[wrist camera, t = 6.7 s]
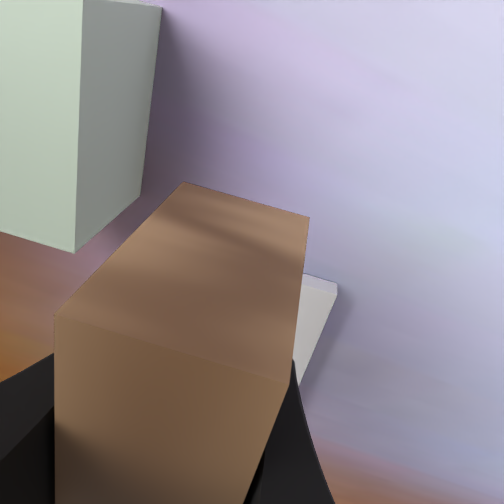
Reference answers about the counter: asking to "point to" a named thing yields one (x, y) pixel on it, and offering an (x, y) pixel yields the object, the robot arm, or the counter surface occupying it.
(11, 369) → the counter surface
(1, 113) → the sage brick
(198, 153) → the counter surface
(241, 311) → the walnut brick
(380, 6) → the counter surface
